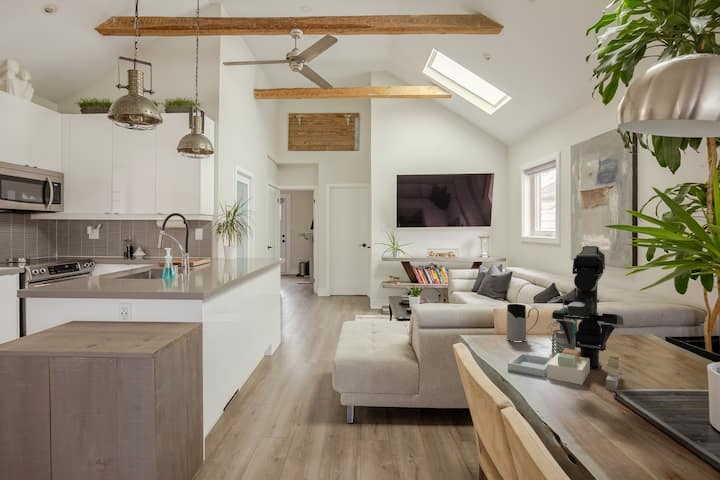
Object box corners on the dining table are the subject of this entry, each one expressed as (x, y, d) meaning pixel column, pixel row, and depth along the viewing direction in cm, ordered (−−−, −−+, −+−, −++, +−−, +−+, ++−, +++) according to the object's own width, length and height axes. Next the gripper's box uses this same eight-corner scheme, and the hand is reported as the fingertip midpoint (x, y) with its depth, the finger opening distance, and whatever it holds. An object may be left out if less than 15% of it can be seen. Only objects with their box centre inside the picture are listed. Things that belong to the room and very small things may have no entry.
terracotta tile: (565, 355, 144) (565, 348, 144) (579, 358, 141) (579, 350, 141) (562, 358, 140) (562, 351, 140) (577, 361, 137) (577, 353, 137)
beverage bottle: (580, 351, 164) (581, 300, 164) (563, 351, 164) (563, 300, 164) (572, 347, 171) (573, 298, 170) (556, 347, 171) (556, 298, 170)
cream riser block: (557, 366, 147) (557, 353, 147) (589, 371, 141) (589, 358, 141) (547, 378, 135) (547, 364, 135) (582, 384, 129) (582, 370, 129)
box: (520, 359, 154) (520, 352, 154) (554, 365, 147) (554, 358, 147) (507, 370, 142) (507, 363, 142) (543, 377, 135) (543, 369, 135)
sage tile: (560, 360, 138) (560, 353, 138) (575, 363, 135) (576, 355, 135) (557, 364, 134) (557, 356, 134) (573, 366, 132) (573, 359, 132)
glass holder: (502, 337, 187) (502, 303, 186) (533, 336, 188) (533, 303, 187) (510, 342, 178) (510, 307, 178) (543, 342, 179) (543, 306, 179)
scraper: (611, 376, 137) (611, 352, 137) (620, 378, 135) (620, 353, 135) (605, 389, 126) (606, 362, 125) (615, 391, 124) (615, 364, 124)
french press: (564, 363, 150) (564, 293, 149) (539, 354, 161) (539, 289, 160) (584, 360, 154) (585, 291, 153) (558, 351, 164) (559, 288, 164)
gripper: (544, 290, 132) (542, 341, 129) (610, 292, 118) (609, 349, 115) (560, 294, 139) (559, 342, 136) (624, 297, 125) (623, 351, 122)
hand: (585, 346), depth 127 cm, fingers open, 9 cm apart
